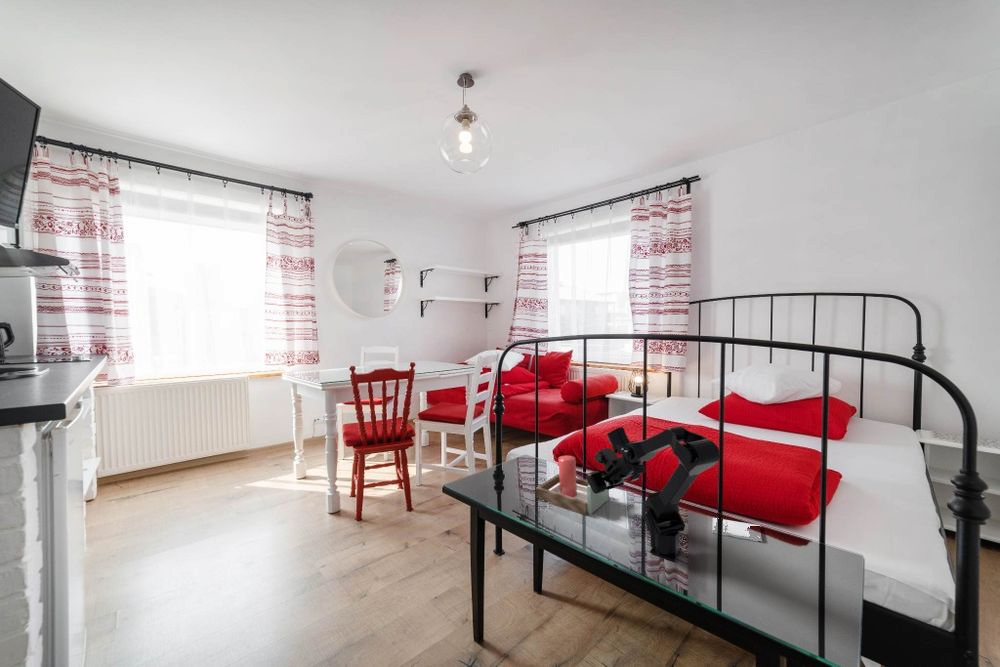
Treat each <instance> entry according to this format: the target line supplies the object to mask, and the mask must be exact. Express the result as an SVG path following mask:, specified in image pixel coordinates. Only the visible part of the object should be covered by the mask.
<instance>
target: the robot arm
mask: <svg viewBox="0 0 1000 667" xmlns="http://www.w3.org/2000/svg"><path fill="white" fill-rule="evenodd" d="M606 438H607V439H608V441H609V444H610V446H611V447H605V448H602V449H599V450H598V451H597V452H596V453H595V456H594V460H595V461H596V462H597V463H598V464H599V465H600V464H602V465H603V466H604V467H603V470H602V471H598V470H594V471H591V472H588V473H587V474H586V475H585V480H587V481H588V483H589V485H590V487H591V489H592V491H593V492H594V493H595V494H597V493H600V492H603V491H605V490H606V489H607V490H609V491H610V490H612V489H615V488H617V487H621V486H623V485H625V482H627V480H628V479H629V477H630V479H629V481H630V482H635V481H637V480H639V479H640V478H641V474H644V473H646V472H645V467H644V463H642V462H646V461H651V460H652V459H653V458H655V457H656V455H657V453H658V452H660V451H662V450H664V449H667V448H670V447H671V451H672V453H673V455H675V456H676V457H677V461H678V465H677V467H676V468H675V470H674V471H673V473H672V474H671V476H670V477H669V479H668V480H667V482H666V484H665V485H664V487H663V488H662V489H661V490H660V491H656V492H652V493H649V494H648V496H647V498H646V500H644V501H643V502H644V505H643V517H644V522H645V525H646V528H647V531H649V534H650V547H651V548H650V550H649V553H650V554H652V555H656V556H657V557H661V558H663V559H665V560H669V561H671V562H675V561H676V559H677V558H678V557H679V555H680V554H681V552H682V551H683V549H682V547H680V532H684V531H685V529H686V524H685V521H684V520H683V517H682V516H681V514H680V507H679V505H678V504H679V503H680V501H681V500H682V498H683V497H684V496H685V495H686V493H687V491H688V490H689V489H690V487H691V486H692V484H693V483H694V482H695V480H697V477H698V476H699V474H701V473H703V472H704V471H707V470H708V469H710V468H712V467H713V466H715V465H716V464H717V463H718V462H719V461H720V458H721V454H720V449H719V447H718V445H716V443H715V442H714V441H713V440H711V439H708V438H707V437H706V436H705V435H701V434H699V433H696V432H693V431H690V430H689V429H686V428H685V426H684V427H683V426H680V425H678V426H673V427H667V428H665V429H664V430H663V431H660V432H658V433H657V434H654V435H653V436H651V437H648V438H646V439H644V440H635V441H634V440H633V441H630V440H629V438H628V435H627V434H626V431H625V429H624V427H623V426H619V427H616V429H612V430H611V431H609V432H607V434H606ZM617 453H618V454H619V455H620V456H619V455H618V454H617Z"/></svg>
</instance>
